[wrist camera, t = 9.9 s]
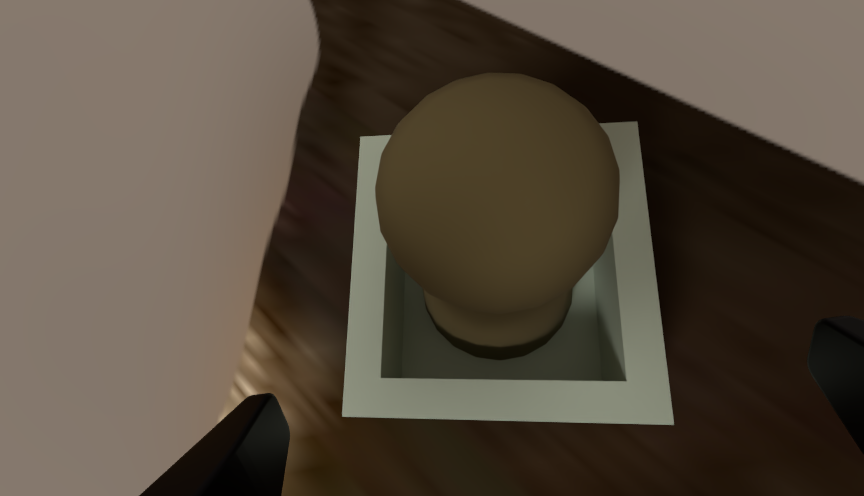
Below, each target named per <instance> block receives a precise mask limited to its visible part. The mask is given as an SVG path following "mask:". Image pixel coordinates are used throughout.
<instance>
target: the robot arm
mask: <svg viewBox="0 0 864 496" xmlns="http://www.w3.org/2000/svg"><path fill="white" fill-rule="evenodd" d="M807 362H808V368H809V371H810V373H811V375H812V376H813V378H814V380H815V381H816V383H817V384H818V386H819V387H820V389H821V390H822V392H823V393H824V395H825V396H826V398H827V399H828V401H829V402H830V404H831V406H832V407H833V409H834V410H835V412H836V413H837V415H838V416H839V418H840V419H841V421H842V422H843V424H844V425H845V427H846V428H847V430H848V432H849V433H850V435H851V436H852V438H853V439H854V441H855V442H856V444H857V445H858V447H859V448H860V450H861V451H862V453H863V454H864V320H861V319H858V318H855V317H852V316H839V317H831V318H824V319H821V320H819V321H818V322H817V323H816V324H815V327H814V331H813V335H812V340H811V344H810V349H809V353H808V358H807ZM289 440H290V430H289V426H288V423H287V421H286V419H285V416H284V414H283V412H282V410H281V407H280V405H279V403H278V401H277V399H276V397H275V396H274V395H273V394H271V393H265V394H257V395H252V396H249V397H247V398H246V399H245V400H244V401H242V402H241V403H240V404H239V405H238V406H237V407H236V408H235V409H234V410H233V411H232V412H230V413H229V414H228V415H227V416H226V417H225V418H224V419H223V420H222V421H221V422H219V423H218V424H217V425H216V426H215V427H214V428H213V429H212V430H211V431H210V432H209V433H207V434H206V435H205V436H204V437H203V438H202V439H201V440H200V441H199V442H198V443H196V444H195V445H194V446H193V447H192V448H191V449H190V450H189V451H188V452H187V453H185V454H184V455H183V456H182V457H181V458H180V459H179V460H178V461H177V462H176V463H175V464H174V465H172V466H171V467H170V468H169V469H168V470H167V471H166V472H165V473H164V474H163V475H161V476H160V477H159V478H158V479H157V480H156V481H155V482H154V483H153V484H151V485H150V486H149V487H148V488H147V489H146V490H145V491H144V492H143V493H142V494H141V495H139V496H281V493H282V487H283V480H284V473H285V467H286V460H287V454H288V447H289Z"/></svg>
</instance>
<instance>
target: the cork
mask: <svg viewBox="0 0 864 496" xmlns="http://www.w3.org/2000/svg"><path fill="white" fill-rule="evenodd" d="M619 187H620V170H619V167H618V164H617V161H616V158H615V155H614V152H613V149H612V145H611V142H610V139H609V136H608V135H607V134H606V132H605V131H604V130H603V128H602V127H601V126H600V124H599V123H598V122H597V120H596V119H595V118H594V117H593V115H592V114H591V113H590V111H589V110H588V109H587V108H586V107H585V106H584V105H582V104H581V103H580V102H578V101H577V100H576V99H574V98H573V97H571V96H570V95H568V94H567V93H565V92H564V91H562V90H561V89H559V88H558V87H557V86H555V85H554V84H551V83H548V82H545V81H542V80H539V79H536V78H533V77H529V76H526V75H523V74H512V73H484V74H480V75H475V76H471V77H467V78H463V79H458V80H455V81H453V82H451V83H449V84H447V85H446V86H444V87H442V88H440V89H438V90H436V91H434V92H433V93H431V94H429V95H427V96H426V97H425V98H424V99H423V100H422V101H421V102H420V103H419V104H418V105H417V106H416V107H415V108H414V109H413V110H412V111H410V112H409V113H408V114H407V115H406V116H405V117H404V118H403V119H402V120H401V121H400V122H399V123H398V124H397V126H396V128H395V130H394V132H393V134H392V135H391V137H390V139H389V141H388V143H387V144H386V146H385V148H384V150H383V152H382V154H381V158H380V164H379V169H378V174H377V180H376V185H375V198H376V205H377V212H378V218H379V225H380V232H381V234H382V235H383V237H384V239H385V241H386V243H387V245H388V247H389V249H390V251H391V253H392V255H393V256H394V258H395V260H396V262H397V264H398V265H399V266H400V267H401V268H402V269H403V270H404V271H405V272H406V273H407V274H408V275H409V276H410V277H411V278H412V279H413V280H414V281H415V282H416V283H417V284H419V285H420V286H421V287H422V288H423V294H424V300H425V306H426V310H427V312H428V314H429V316H430V318H431V320H432V322H433V323H434V325H435V327H436V329H437V331H438V332H440V333H441V334H442V335H443V336H444V337H445V338H446V339H447V340H448V341H449V342H450V343H451V344H452V345H453V346H454V347H456V348H458V349H460V350H462V351H464V352H466V353H468V354H470V355H472V356H475V357H478V358H485V359H493V360H500V361H501V360H506V359H511V358H517V357H522V356H526V355H527V354H529V353H531V352H533V351H535V350H536V349H538V348H540V347H542V346H543V345H545V344H547V342H548V341H549V340H550V339H551V338H552V337H553V336H554V335H555V334H556V332H557V331H558V330H559V329H560V328H561V327H562V325H563V323H564V321H565V318H566V316H567V313H568V311H569V309H570V306H571V302H572V288H573V287H574V286H575V285H576V283H577V282H578V281H579V280H580V279H581V278H582V277H583V276H584V275H585V274H586V272H587V271H588V270H589V269H590V268H591V267H592V266H593V265H594V264H595V263H596V261H597V260H598V259H599V258H600V257H601V256H602V254H603V253H604V251H605V249H606V246H607V244H608V241H609V239H610V237H611V234H612V232H613V229H614V227H615V225H616V222H617V220H618V213H619Z"/></svg>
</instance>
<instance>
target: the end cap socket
mask: <svg viewBox="0 0 864 496" xmlns="http://www.w3.org/2000/svg"><path fill="white" fill-rule="evenodd" d="M600 126H601V127H602V128H603V130H604V131H605V132H606V134H607V135H608V136H609V139H610V142H611V145H612V149H613V152H614V155H615V158H616V161H617V164H618V167H619V170H620V187H619V213H618V220H617V222H616V225H615V227H614V229H613V232H612V234H611V237H610V239H609V241H608V244H607V246H606V249H605V251H604V253H603V254H602V256H601V257H600V258H599V259H598V260H597V261H596V263H595V264H594V265H593V266H592V267H591V268H590V269H589V270H588V271H587V272H586V274H585V275H584V276H583V277H582V278H581V279H580V280H579V281H578V282H577V283H576V285H575V286H574V287H573V288H572V302H571V306H570V309H569V311H568V313H567V316H566V318H565V321H564V323H563V325H562V327H561V328H560V329H559V330H558V331H557V332H556V334H555V335H554V336H553V337H552V338H551V339H550V340H549V341H548V342H547V344H545V345H543V346H542V347H540V348H538V349H536V350H535V351H533V352H531V353H529V354H527V355H526V356H522V357H517V358H511V359H506V360H501V361H500V360H493V359H485V358H478V357H475V356H472V355H470V354H468V353H466V352H464V351H462V350H460V349H458V348H456V347H454V346H453V345H452V344H451V343H450V342H449V341H448V340H447V339H446V338H445V337H444V336H443V335H442V334H441V333H440V332H438V331H437V329H436V327H435V325H434V323H433V322H432V320H431V318H430V316H429V314H428V312H427V310H426V306H425V300H424V294H423V288H422V287H421V286H420V285H419V284H417V283H416V282H415V281H414V280H413V279H412V278H411V277H410V276H409V275H408V274H407V273H406V272H405V271H404V270H403V269H402V268H401V267H400V266H399V265H398V264H397V262H396V260H395V258H394V256H393V255H392V253H391V251H390V249H389V247H388V245H387V243H386V241H385V239H384V237H383V235H382V234H381V232H380V225H379V218H378V212H377V205H376V198H375V185H376V180H377V174H378V169H379V164H380V158H381V154H382V152H383V150H384V148H385V146H386V144H387V143H388V141H389V139H390V137H391V135H384V136H366V137H360V151H359V167H358V182H357V197H356V212H355V227H354V242H353V258H352V273H351V288H350V303H349V318H348V334H347V349H346V364H345V379H344V394H343V409H342V417H380V418H420V419H460V420H500V421H540V422H580V423H620V424H660V425H674V421H673V412H672V404H671V396H670V388H669V379H668V371H667V363H666V355H665V347H664V338H663V330H662V322H661V314H660V305H659V297H658V289H657V281H656V272H655V264H654V256H653V248H652V239H651V231H650V223H649V215H648V206H647V198H646V190H645V182H644V173H643V165H642V157H641V149H640V140H639V132H638V124H637V121H636V122H618V123H600Z"/></svg>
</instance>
